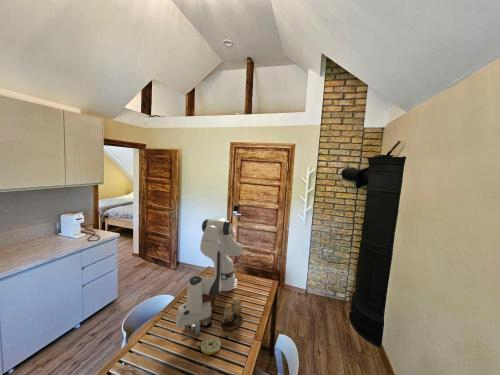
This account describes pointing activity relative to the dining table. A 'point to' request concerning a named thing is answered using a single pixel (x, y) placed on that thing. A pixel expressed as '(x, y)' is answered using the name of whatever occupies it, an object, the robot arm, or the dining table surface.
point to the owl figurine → (232, 315)
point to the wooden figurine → (210, 299)
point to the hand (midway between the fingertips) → (193, 328)
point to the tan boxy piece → (203, 320)
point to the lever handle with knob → (197, 329)
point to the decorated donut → (210, 345)
